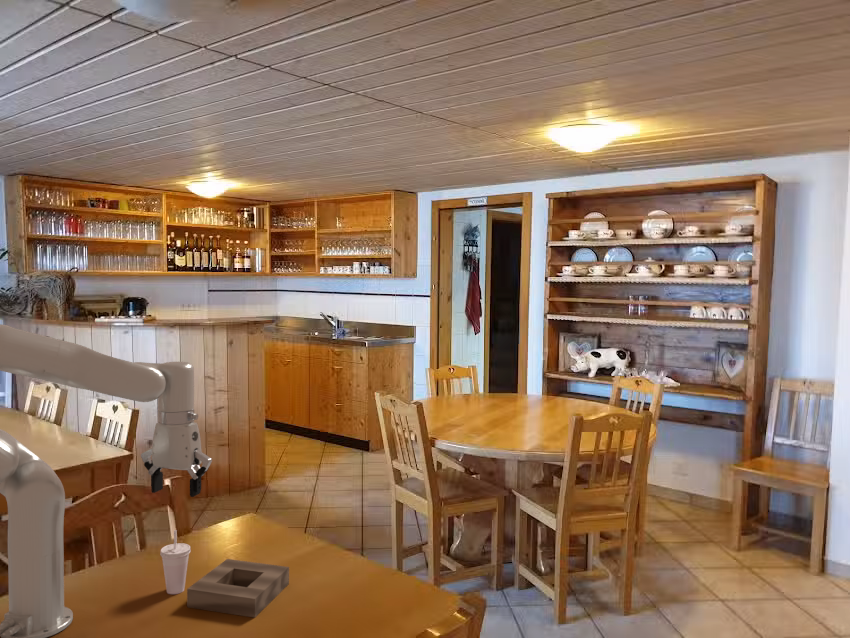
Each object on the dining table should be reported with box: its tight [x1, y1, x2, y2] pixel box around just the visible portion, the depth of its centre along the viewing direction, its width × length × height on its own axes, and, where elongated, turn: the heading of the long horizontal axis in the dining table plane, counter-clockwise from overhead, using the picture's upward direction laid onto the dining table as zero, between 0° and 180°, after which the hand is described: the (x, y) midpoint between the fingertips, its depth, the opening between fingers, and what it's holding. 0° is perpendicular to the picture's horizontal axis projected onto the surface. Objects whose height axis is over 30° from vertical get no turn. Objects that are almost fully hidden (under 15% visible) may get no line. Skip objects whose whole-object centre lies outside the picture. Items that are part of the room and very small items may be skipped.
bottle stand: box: [186, 558, 290, 618], centre depth 145 cm, size 16×16×4 cm
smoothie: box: [160, 529, 191, 595], centre depth 147 cm, size 6×6×14 cm
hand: (176, 493), depth 146 cm, fingers open, 9 cm apart
